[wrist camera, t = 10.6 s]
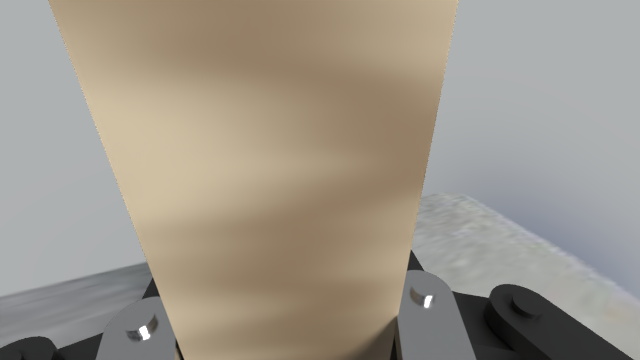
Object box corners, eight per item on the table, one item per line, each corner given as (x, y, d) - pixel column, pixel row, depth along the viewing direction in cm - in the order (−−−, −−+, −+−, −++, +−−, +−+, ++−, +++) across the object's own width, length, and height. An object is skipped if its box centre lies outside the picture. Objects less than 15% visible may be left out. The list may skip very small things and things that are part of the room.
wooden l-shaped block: (247, 527, 10) (-221, -712, 1) (259, 334, 16) (192, -94, 7) (361, 504, 10) (557, -516, 2) (330, 326, 16) (339, -86, 8)
